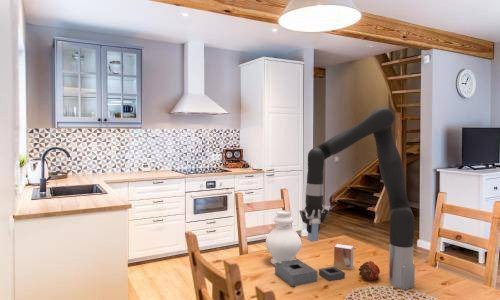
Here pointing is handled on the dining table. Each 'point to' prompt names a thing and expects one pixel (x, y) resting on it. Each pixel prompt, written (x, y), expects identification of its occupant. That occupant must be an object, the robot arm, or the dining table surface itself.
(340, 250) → the small box
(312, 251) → the dining table surface
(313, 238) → the plug
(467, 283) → the dining table surface
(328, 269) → the holster
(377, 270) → the dragon fruit
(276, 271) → the port
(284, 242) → the decorative vase
